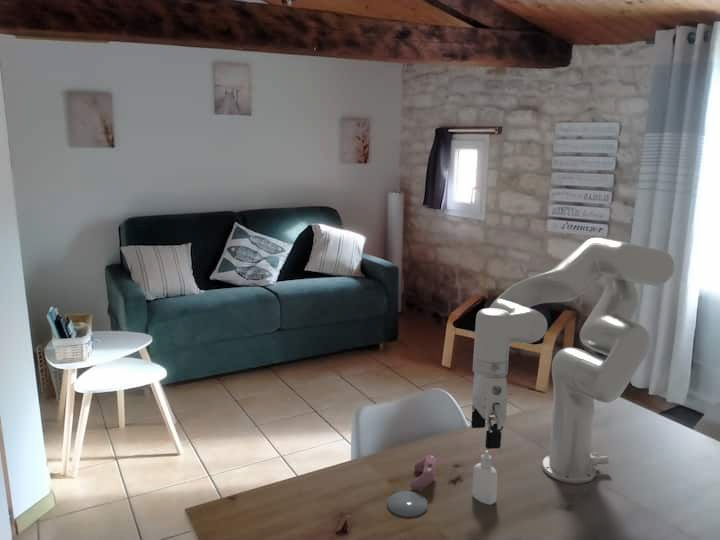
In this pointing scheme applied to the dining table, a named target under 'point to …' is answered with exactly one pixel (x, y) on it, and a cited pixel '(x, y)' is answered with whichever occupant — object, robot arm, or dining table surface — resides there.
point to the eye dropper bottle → (485, 480)
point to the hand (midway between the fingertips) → (485, 437)
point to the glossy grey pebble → (407, 504)
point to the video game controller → (425, 472)
